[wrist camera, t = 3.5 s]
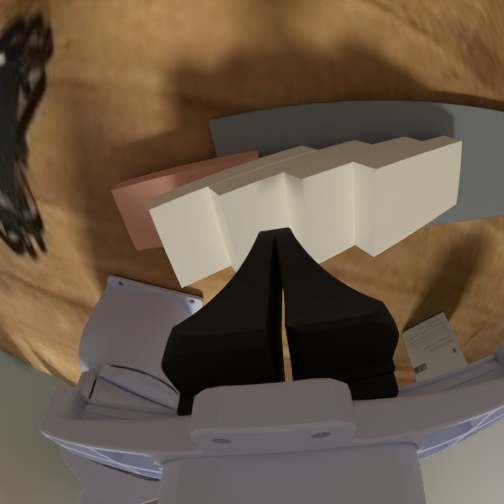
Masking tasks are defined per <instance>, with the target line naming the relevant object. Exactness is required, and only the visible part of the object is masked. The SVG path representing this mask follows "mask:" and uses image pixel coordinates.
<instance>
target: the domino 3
mask: <svg viewBox="0 0 504 504" xmlns="http://www.w3.org/2000/svg"><path fill="white" fill-rule="evenodd" d="M417 142H421V141H419V140H416V139H412V138H408V137H400V138H396V139H392V140H388V141H384V142H380V143H377V144H373V145H369V146H365V147H362V148H358V149H354V150H351V151H347V152H344V153H340V154H337V155H334V156H330V157H327V158H323V159H320V160H317V161H314V162H310V163H307V164H304V165H301V166H298V167H295V168H292V169H288V170H285V171H283V177H284V183H285V190H286V196H287V202H288V209H289V216H290V223H291V230H292V232H293V234H294V236H295V237H296V239H297V240H298V241H299V243H300V244H301V245H302V247H303V248H304V249H305V250H306V251H307V253H308V254H309V255H310V256H311V257H312V258H313V259H314V260H315V261H316V262H317V263H318V264H319V263H321V262H323V261H325V260H327V259H329V258H331V257H333V256H335V255H337V254H339V253H340V252H342V251H344V250H346V249H348V248H350V247H352V246H354V245H355V244H354V239H355V225H354V185H353V166H352V161H355V160H359V159H362V158H365V157H368V156H372V155H375V154H378V153H382V152H385V151H389V150H392V149H396V148H399V147H403V146H406V145H410V144H413V143H417Z"/></svg>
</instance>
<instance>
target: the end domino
mask: <svg viewBox="0 0 504 504" xmlns="http://www.w3.org/2000/svg"><path fill="white" fill-rule="evenodd" d="M256 159H259V154H258V150H256V151H250V152H245V153H239V154H234V155H229V156H223V157H218V158H214V159H209V160H204V161H200V162H195V163H191V164H186V165H182V166H178V167H174V168H170V169H166V170H162V171H158V172H154V173H151V174H147V175H143V176H140V177H136V178H133V179H129V180H126V181H123V182H120V183H119V184H118V185H117V186H116V187H115V188H114V189H113V190H112V191H111V192H112V194H113V197H114V199H115V202H116V204H117V207H118V209H119V211H120V214H121V216H122V219H123V221H124V223H125V226H126V228H127V230H128V233H129V235H130V237H131V239H132V242H133V244H134V246H135V248H136V250H137V251H139V250H145V249H151V248H157V247H163V244H162V241H161V239H160V237H159V234H158V232H157V229H156V227H155V224H154V222H153V219H152V217H151V214H150V212H149V209H148V206H147V204H146V200H149V199H151V198H153V197H156V196H158V195H161V194H163V193H166V192H168V191H170V190H173V189H175V188H178V187H180V186H183V185H186V184H188V183H191V182H193V181H196V180H199V179H201V178H204V177H207V176H209V175H212V174H215V173H218V172H221V171H223V170H226V169H229V168H232V167H235V166H238V165H241V164H244V163H247V162H250V161H253V160H256Z"/></svg>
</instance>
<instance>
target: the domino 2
mask: <svg viewBox="0 0 504 504" xmlns="http://www.w3.org/2000/svg"><path fill="white" fill-rule="evenodd" d="M369 145H372V144H368V143H364V142H360V141H356V140H353V141H349V142H345V143H342V144H338V145H334V146H331V147H327V148H324V149H320V150H317V151H313V152H310V153H307V154H303V155H300V156H297V157H294V158H291V159H287V160H284V161H281V162H278V163H275V164H272V165H269V166H266V167H263V168H260V169H257V170H254V171H251V172H248V173H245V174H243V175H240V176H237V177H234V178H231V179H229V180H226V181H223V182H221V183H218V184H215V185H213V186H210V187H208V188H209V192H210V195H211V199H212V202H213V206H214V209H215V213H216V216H217V220H218V223H219V226H220V230H221V233H222V237H223V240H224V243H225V247H226V250H227V253H228V257H229V260H230V263H231V266H232V267H233V269H234V270H235V271H236V272H237V271H238V269H239V268H240V266H241V265H242V263H243V262H244V260H245V259H246V257H247V255H248V253H249V252H250V250H251V248H252V246H253V244H254V242H255V240H256V238H257V235H258V233H259V232H260V231H265V230H272V229H279V228H286V227H289V228H290V229H291V223H290V216H289V209H288V202H287V196H286V190H285V183H284V177H283V171H285V170H288V169H292V168H295V167H298V166H301V165H304V164H307V163H310V162H314V161H317V160H320V159H323V158H327V157H330V156H334V155H337V154H340V153H344V152H347V151H351V150H354V149H358V148H362V147H365V146H369Z"/></svg>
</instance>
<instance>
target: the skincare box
mask: <svg viewBox="0 0 504 504" xmlns="http://www.w3.org/2000/svg"><path fill="white" fill-rule="evenodd" d="M402 337H403V340H404V343H405V346H406V349H407V352H408V355H409V358H410V361H411V364H412V367H413V370H414V373H415V377H416V380H417V382H419V381H423V380H426V379H429V378H432V377H435V376H438V375H441V374H444V373H447V372H450V371H453V370H456V369H458V368H461V367H464V366H466V365H468V364H467V362H466V360H465V357H464V355H463V353H462V350H461V348H460V346H459V343H458V341H457V339H456V337H455V335H454V333H453V331H452V329H451V326H450V324H449V322H448V320H447V318H446V316H445V314H444V313H443V312H442V313H439V314H438V315H436V316H434V317H432V318H430V319H428V320H426V321H424V322H422V323H420V324H418V325H416V326H414V327H412V328H410V329H408V330H406V331H405V332H403V333H402Z"/></svg>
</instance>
